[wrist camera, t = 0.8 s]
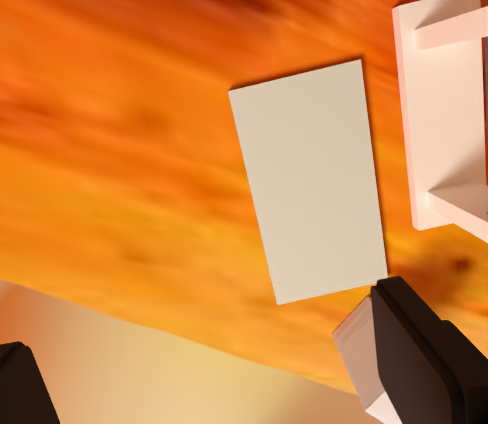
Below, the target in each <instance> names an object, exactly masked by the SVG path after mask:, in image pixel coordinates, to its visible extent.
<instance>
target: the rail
mask: <svg viewBox="0 0 488 424" xmlns="http://www.w3.org/2000/svg"><path fill="white" fill-rule="evenodd" d="M487 6H488V0H483V7H487ZM484 43H485V77H486V110H487V144H488V36H487V37H484Z"/></svg>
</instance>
